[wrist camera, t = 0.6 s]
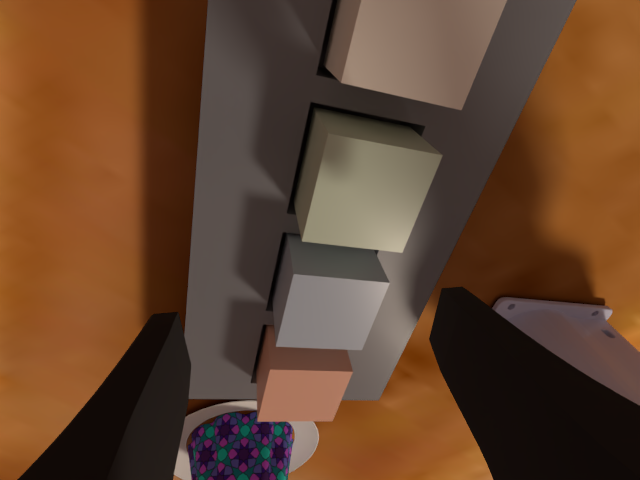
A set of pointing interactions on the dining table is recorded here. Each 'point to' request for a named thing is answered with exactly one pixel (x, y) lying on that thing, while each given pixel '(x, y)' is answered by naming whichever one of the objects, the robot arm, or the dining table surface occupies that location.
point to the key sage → (362, 181)
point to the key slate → (326, 295)
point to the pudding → (242, 445)
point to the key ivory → (412, 46)
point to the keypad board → (285, 162)
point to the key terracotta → (299, 381)
